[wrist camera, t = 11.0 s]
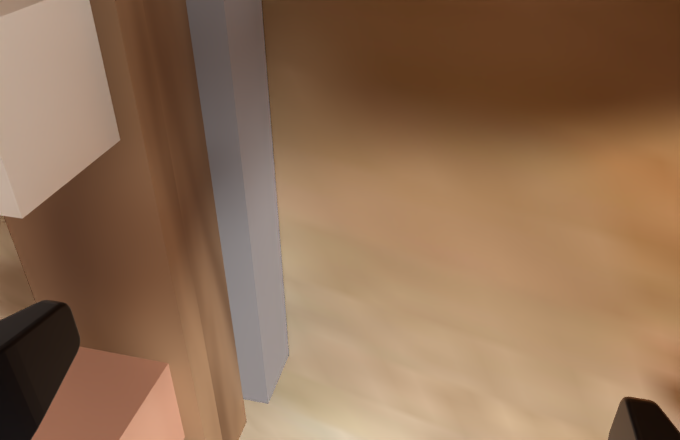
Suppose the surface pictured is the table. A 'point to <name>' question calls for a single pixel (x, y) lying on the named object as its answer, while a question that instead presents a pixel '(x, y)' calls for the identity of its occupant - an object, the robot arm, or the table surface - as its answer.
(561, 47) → the table surface
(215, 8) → the block
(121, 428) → the block
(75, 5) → the block
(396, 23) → the table surface
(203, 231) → the tan long bar
